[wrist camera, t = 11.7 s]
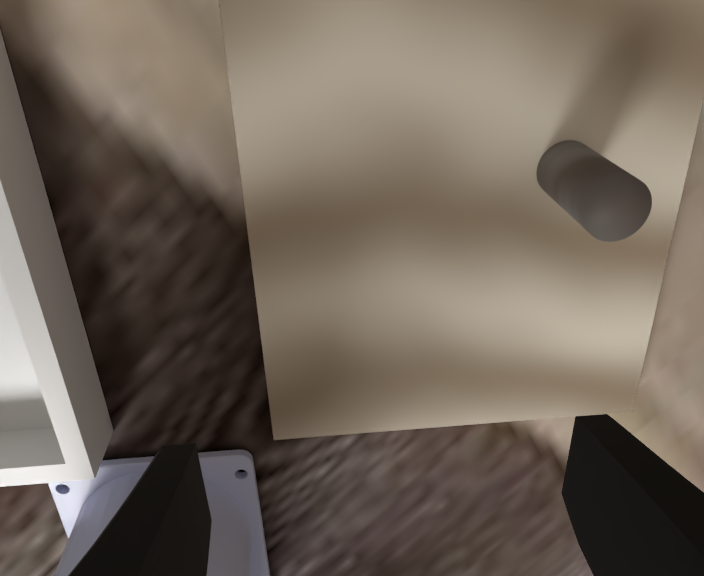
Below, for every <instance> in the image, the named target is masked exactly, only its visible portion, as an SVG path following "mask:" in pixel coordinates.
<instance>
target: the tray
mask: <svg viewBox="0 0 704 576" xmlns="http://www.w3.org/2000/svg"><path fill="white" fill-rule="evenodd" d="M113 432H114V430H113V427H112V423H111V420H110V416H109V413H108V409H107V406H106V402H105V399H104V395H103V392H102V388H101V384H100V381H99V377H98V374H97V370H96V367H95V363H94V360H93V356H92V353H91V349H90V345H89V342H88V338H87V335H86V331H85V328H84V324H83V321H82V317H81V314H80V310H79V307H78V303H77V299H76V296H75V292H74V289H73V285H72V282H71V278H70V275H69V271H68V268H67V264H66V260H65V257H64V253H63V250H62V246H61V243H60V239H59V236H58V232H57V229H56V225H55V222H54V218H53V214H52V211H51V207H50V204H49V200H48V197H47V193H46V190H45V186H44V183H43V179H42V176H41V172H40V168H39V165H38V161H37V158H36V154H35V151H34V147H33V144H32V140H31V137H30V133H29V129H28V126H27V122H26V119H25V115H24V112H23V108H22V105H21V101H20V98H19V94H18V91H17V87H16V83H15V80H14V76H13V73H12V69H11V66H10V62H9V59H8V55H7V52H6V48H5V44H4V41H3V37H2V34H1V30H0V487H3V486H15V485H27V484H40V483H52V482H64V481H77V480H89V479H95V477H96V475H97V472H98V470H99V467H100V465H101V462H102V460H103V457H104V455H105V452H106V450H107V447H108V444H109V442H110V439H111V437H112V434H113Z"/></svg>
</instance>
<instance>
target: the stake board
mask: <svg viewBox="0 0 704 576" xmlns="http://www.w3.org/2000/svg"><path fill="white" fill-rule="evenodd" d="M219 7H220V15H221V23H222V31H223V39H224V47H225V55H226V63H227V71H228V79H229V87H230V95H231V103H232V111H233V119H234V127H235V135H236V143H237V151H238V159H239V167H240V175H241V183H242V191H243V199H244V207H245V215H246V223H247V231H248V239H249V247H250V255H251V263H252V271H253V279H254V287H255V295H256V303H257V311H258V319H259V327H260V335H261V343H262V351H263V359H264V367H265V375H266V383H267V391H268V399H269V407H270V415H271V423H272V431H273V439H274V440H282V439H294V438H307V437H320V436H332V435H345V434H357V433H370V432H383V431H395V430H408V429H420V428H433V427H446V426H458V425H471V424H483V423H496V422H509V421H521V420H534V419H547V418H559V417H572V416H584V415H597V414H610V413H622V412H633V408H634V403H635V399H636V394H637V390H638V386H639V381H640V377H641V372H642V368H643V364H644V359H645V355H646V350H647V346H648V342H649V337H650V333H651V328H652V324H653V320H654V315H655V311H656V306H657V302H658V298H659V293H660V289H661V284H662V280H663V276H664V271H665V267H666V262H667V258H668V254H669V249H670V245H671V240H672V236H673V232H674V227H675V223H676V218H677V214H678V210H679V205H680V201H681V196H682V192H683V188H684V183H685V179H686V174H687V170H688V166H689V161H690V157H691V152H692V148H693V144H694V139H695V135H696V130H697V126H698V122H699V117H700V113H701V108H702V104H703V100H704V0H219Z"/></svg>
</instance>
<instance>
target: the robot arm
mask: <svg viewBox="0 0 704 576" xmlns="http://www.w3.org/2000/svg"><path fill="white" fill-rule="evenodd" d="M237 470H245V472H239V471H237ZM61 484H64V485H66V486H63V485H61ZM48 485H49V488H50V491H51V493H52V496H53V499H54V501H55V504H56V507H57V510H58V512H59V515H60V518H61V521H62V523H63V526H64V529H65V531H66V534H67V537H68V542H67V544H66V547H65V549H64V552H63V554H62V557H61V559H60V562H59V564H58V567H57V569H56V572H55V574H54V576H270V569H269V563H268V556H267V549H266V542H265V536H264V529H263V522H262V515H261V509H260V502H259V495H258V488H257V482H256V475H255V468H254V462H253V457H252V454H250V453H249V452H248V451H246V450H226V451H214V452H201V453H198V452H197V447H196V444H186V445H172V446H163V447H162V448H161V449H160V450H159V451H158V452H157V453H156V455H155V456H151V457H139V458H126V459H113V460H102V462H101V465H100V467H99V470H98V472H97V475H96V477H95V479H89V480H77V481H64V482H52V483H48ZM67 486H68V487H67ZM562 496H563V499H564V502H565V505H566V508H567V511H568V514H569V517H570V520H571V523H572V526H573V529H574V532H575V535H576V537H577V540H578V543H579V545H580V548H581V550H582V552H583V554H584V556H585V558H586V560H587V563H588V565H589V567H590V569H591V571H592V573H593V575H594V576H704V492H702V491H701V490H700V489H698V488H697V487H696V486H695V485H693V484H692V483H691V482H690V481H688V480H687V479H686V478H684V477H683V476H682V475H681V474H679V473H678V472H677V471H676V470H675V469H673V468H672V467H671V466H670V465H668V464H667V463H666V462H665V461H664V460H662V459H661V458H660V457H659V456H657V455H656V454H655V453H654V452H653V451H651V450H650V449H649V448H648V447H647V446H645V445H644V444H643V443H642V442H641V441H639V440H638V439H637V438H636V437H635V436H633V435H632V434H631V433H630V432H628V431H627V430H626V429H625V428H624V427H622V426H621V425H620V424H619V423H618V422H616V421H615V420H614V419H612V418H611V417H610V416H609V415H607V414H603V415H589V416H576V417H575V423H574V428H573V434H572V439H571V445H570V450H569V456H568V461H567V466H566V472H565V477H564V483H563V488H562Z"/></svg>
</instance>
